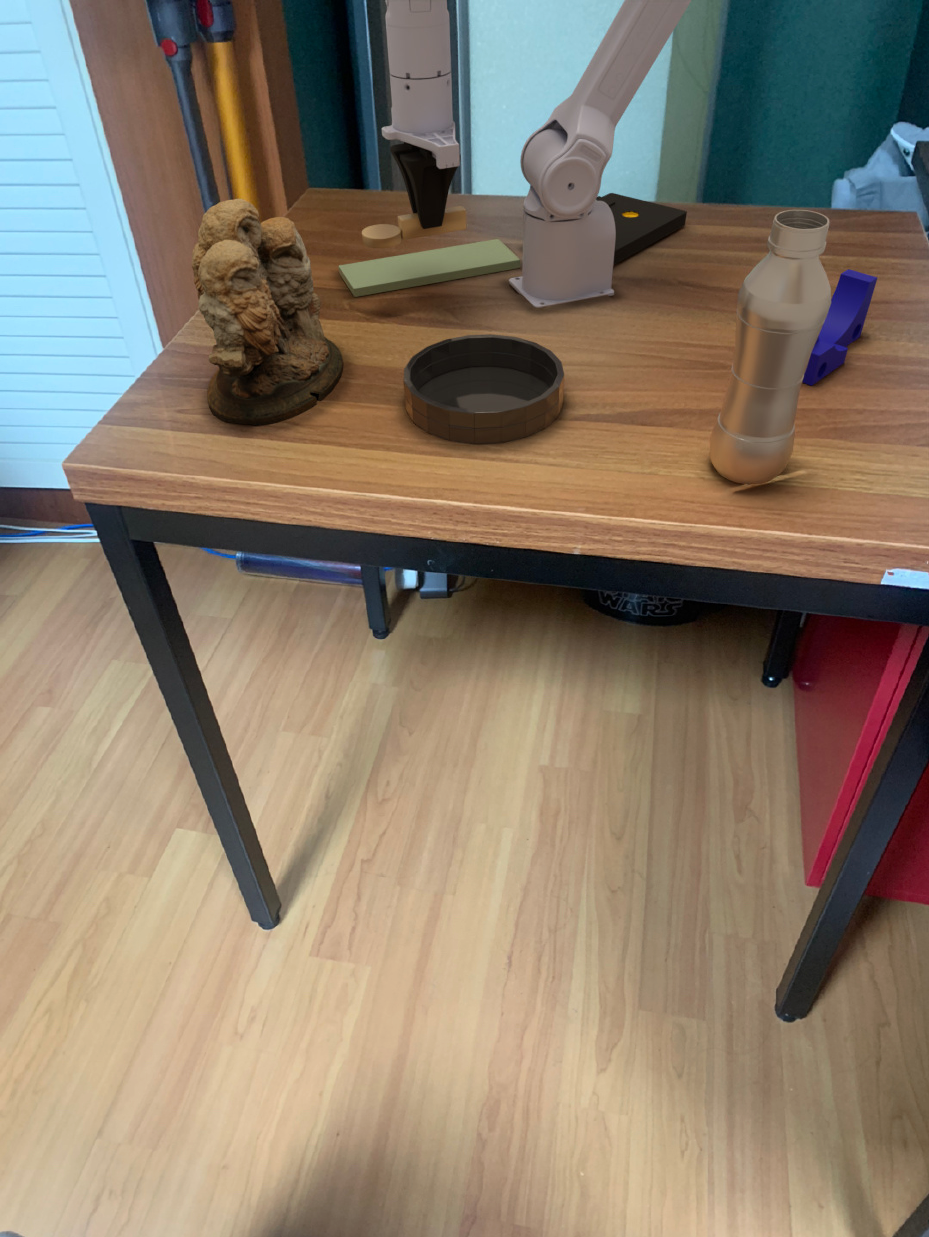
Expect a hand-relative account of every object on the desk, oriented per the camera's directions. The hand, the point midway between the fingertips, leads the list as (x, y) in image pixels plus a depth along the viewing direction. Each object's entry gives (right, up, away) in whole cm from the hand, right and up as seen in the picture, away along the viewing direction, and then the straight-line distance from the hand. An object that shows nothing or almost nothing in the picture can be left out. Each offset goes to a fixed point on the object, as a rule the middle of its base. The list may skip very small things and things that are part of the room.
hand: (428, 223), depth 92 cm
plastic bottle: (+27, -29, -19) cm, 44 cm away
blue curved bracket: (+39, -15, -5) cm, 42 cm away
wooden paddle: (-1, -1, 0) cm, 2 cm away
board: (0, 0, +12) cm, 12 cm away
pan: (+5, -21, -10) cm, 24 cm away
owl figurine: (-14, -19, -6) cm, 24 cm away
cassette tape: (+21, +6, +18) cm, 29 cm away
